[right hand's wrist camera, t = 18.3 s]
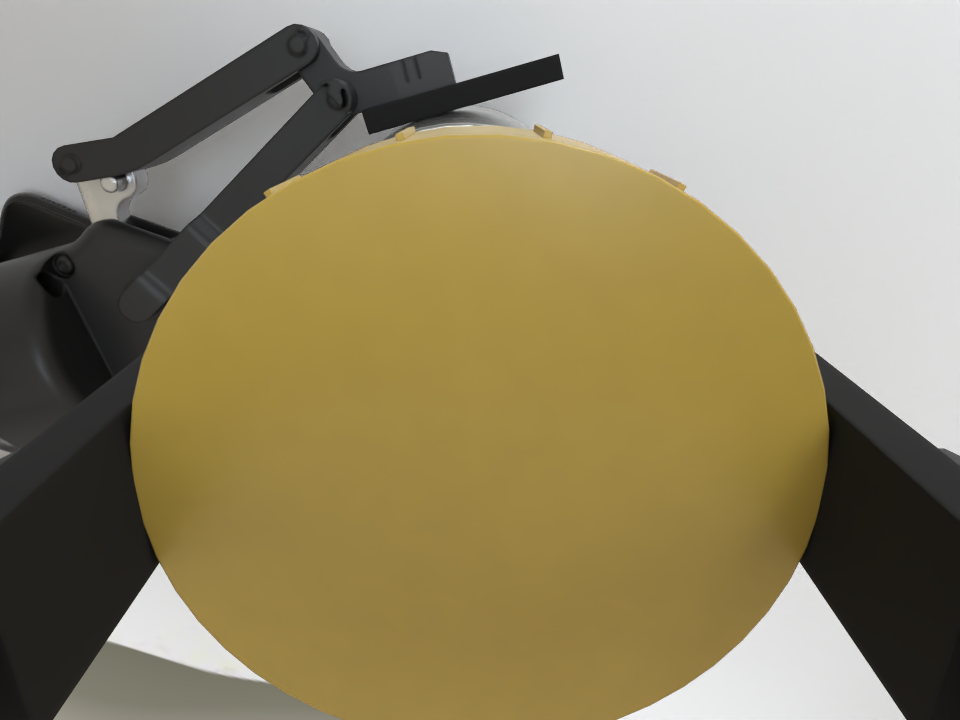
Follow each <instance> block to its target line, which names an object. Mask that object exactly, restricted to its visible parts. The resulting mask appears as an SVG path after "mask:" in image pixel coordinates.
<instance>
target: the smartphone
mask: <svg viewBox="0 0 960 720" xmlns="http://www.w3.org/2000/svg"><path fill="white" fill-rule="evenodd" d="M91 224H92V223H91V220H90V217H89V216H86V215H84V214H81V213H79V212H77V211H74V210H72V209H70V208H67V207H65V206H62V205H60V204H58V203H55V202H53V201H50V200H48V199H45V198H43V197H41V196H38V195H35V194H31V193H18V194H15V195H13V196H11V197H10V198H9V199H8V200H7V201H6V202H5V204H4V206H3V209H2V213H1V217H0V263H2V262H6V261H9V260H13V259H16V258H20V257H23V256H27V255H30V254H34V253H37V252H41V251H44V250H48V249H51V248H55V247H58V246H62V245H65V244H69V243H72V242H74V241H76V240H77V239H78V238H79V237H80V236H81V235H82V233H83V232H84V231H85V230H86V228H88V227H89V226H90V225H91Z"/></svg>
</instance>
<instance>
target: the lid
mask: <svg viewBox="0 0 960 720" xmlns="http://www.w3.org/2000/svg"><path fill="white" fill-rule="evenodd" d="M552 133H553V132H552V131H550V130H548V129H546V128H545V127H543V126H541V125H535V126H534V130H529V129H520V128H512V127H504V126H450V127H444V128H438V129H432V130H425V131H419V132H415V128H414V126H413V127H408V128H406V129H404V130H402V131H400V132H399V133H397V134H395V137H394V138H391V139H387V140H384V141H381V142H378V143H374V144H371V145H368V146H365V147H363V148H361V149H359V150H356V151H354V152H352V153H350V154H348V155H346V156H344V157H342V158H339V159H337V160H335V161H333V162H331V163H329V164H327V165H325V166H323V167H320V168H318V169H316V170H314V171H312V172H310V173H308V174H306V175H304V176H302V177H301V176H300V175H298V176H295V177H293V178H291V179H289V180H287V181H285V182H283V183H281V184H278V185H276V186H274V187H272V188H270V189H268V190H267V191H265V192H264V195H265V196H266V197H267V198H266V199H264V200H263V201H261V202H260V203H258V204H257V205H255V206H254V207H252V208H251V209H249V210H248V211H246V212H245V213H244V214H243V215H242V216H241V217H240V218H239V219H238V220H236V221H235V222H234V223H233V224H232V225H231V226H230V227H229V228H228V229H226V230H225V231H224V232H223V233H222V234H221V235H220V236H219V237H217V238H216V239H215V240H214V241H213V242H212V243H211V244H210V245H209V246H208V248H207V249H206V250H205V251H204V252H203V254H202V255H201V256H200V257H199V259H198V260H197V261H196V262H195V263H194V265H193V266H192V267H191V268H190V269H189V271H188V272H187V273H186V274H185V276H184V277H183V278H182V279H181V281H180V282H179V284H178V286H177V287H176V289H175V291H174V293H173V294H172V296H171V298H170V299H169V301H168V303H167V304H166V306H165V308H164V309H163V311H162V313H161V314H160V316H159V318H158V320H157V322H156V325H155V327H154V330H153V333H152V335H151V338H150V340H149V343H148V345H147V348H146V350H145V353H144V355H143V358H142V361H141V365H140V370H139V374H138V378H137V383H136V387H135V392H134V396H133V401H132V415H131V430H130V452H131V464H132V472H133V477H134V483H135V487H136V492H137V496H138V501H139V505H140V510H141V514H142V519H143V523H144V527H145V529H146V532H147V534H148V537H149V539H150V542H151V544H152V547H153V549H154V552H155V554H156V557H157V559H158V560H159V562H160V564H161V566H162V567H163V569H164V571H165V573H166V575H167V576H168V578H169V580H170V582H171V583H172V585H173V587H174V589H175V591H176V592H177V593H178V595H179V596H180V597H181V599H182V600H183V601H184V603H185V604H186V605H187V607H188V608H189V609H190V611H191V612H192V613H193V615H194V616H195V617H196V619H197V620H198V621H199V622H200V623H201V624H202V625H203V626H204V627H205V628H206V630H207V631H208V632H209V633H210V634H211V635H212V636H213V637H214V638H215V639H216V640H217V641H218V642H219V643H220V644H221V645H222V646H223V647H224V648H225V649H226V650H227V651H228V652H230V653H231V654H232V655H233V656H234V657H236V658H237V659H238V660H239V661H241V662H242V663H243V664H244V665H245V666H247V667H248V668H249V669H250V670H251V671H253V672H254V673H255V674H257V675H258V676H260V677H261V678H263V679H265V680H266V681H268V682H269V683H271V684H272V685H274V686H275V687H277V688H278V689H280V690H281V691H283V692H285V693H286V694H288V695H290V696H292V697H294V698H296V699H298V700H300V701H302V702H304V703H306V704H308V705H310V706H312V707H313V708H315V709H317V710H319V711H322V712H324V713H327V714H330V715H332V716H335V717H337V718H340V719H342V720H617V719H619V718H622V717H624V716H626V715H629V714H631V713H633V712H636V711H638V710H641V709H643V708H645V707H648V706H650V705H652V704H654V703H655V702H657V701H659V700H661V699H663V698H664V697H666V696H668V695H670V694H672V693H673V692H675V691H677V690H679V689H681V688H683V687H684V686H685V685H687V684H688V683H690V682H691V681H693V680H694V679H695V678H697V677H698V676H700V675H701V674H703V673H704V672H705V671H707V670H708V669H710V668H711V667H713V666H714V665H715V664H716V663H717V662H719V661H720V660H721V659H722V658H723V657H724V656H725V655H726V654H728V653H729V652H730V651H731V650H732V649H733V648H734V647H735V646H737V645H738V644H739V643H740V642H741V641H742V640H743V639H744V638H745V637H746V636H747V635H748V634H749V632H750V631H751V630H752V629H753V628H754V627H755V626H756V625H757V624H758V622H759V621H760V620H761V619H762V618H763V617H764V616H765V615H766V613H767V612H768V611H769V610H770V608H771V607H772V605H773V604H774V602H775V601H776V599H777V598H778V597H779V595H780V594H781V592H782V591H783V589H784V588H785V586H786V585H787V583H788V582H789V581H790V579H791V577H792V575H793V573H794V571H795V569H796V567H797V565H798V563H799V561H800V559H801V557H802V555H803V553H804V551H805V549H806V547H807V545H808V542H809V539H810V537H811V534H812V531H813V528H814V525H815V522H816V518H817V514H818V510H819V505H820V501H821V496H822V491H823V486H824V482H825V477H826V472H827V467H828V448H829V424H828V415H827V406H826V397H825V388H824V385H823V381H822V377H821V374H820V370H819V366H818V363H817V359H816V355H815V352H814V348H813V345H812V343H811V341H810V339H809V337H808V334H807V332H806V330H805V328H804V325H803V323H802V321H801V319H800V317H799V314H798V312H797V310H796V308H795V306H794V304H793V303H792V301H791V300H790V298H789V297H788V295H787V294H786V292H785V291H784V289H783V288H782V286H781V285H780V283H779V281H778V279H777V278H776V276H775V275H774V274H773V272H772V271H771V269H770V268H769V267H768V266H767V265H766V264H765V262H764V261H763V260H762V259H761V258H760V257H759V256H758V255H757V254H756V252H755V251H754V250H753V249H752V248H751V247H750V246H749V245H748V244H747V242H746V241H745V240H744V239H743V238H742V237H741V236H740V235H739V233H737V232H736V231H735V230H734V229H733V228H731V227H730V226H729V225H728V224H726V223H725V222H724V221H723V220H722V219H720V218H719V217H718V216H717V215H716V214H714V213H713V212H712V211H711V210H709V209H708V208H707V207H706V206H705V205H703V204H702V203H701V202H700V201H698V200H696V199H695V198H693V197H691V196H690V195H688V194H686V193H685V192H683V191H684V190H685V188H686V186H685V185H684V184H682V183H680V182H678V181H676V180H674V179H672V178H670V177H667V176H665V175H663V174H661V173H659V172H656V171H654V170H652V169H651V170H650V172H648V171H646V170H644V169H642V168H640V167H638V166H636V165H634V164H632V163H630V162H627V161H625V160H623V159H621V158H619V157H616V156H614V155H612V154H609V153H607V152H604V151H602V150H600V149H597V148H595V147H593V146H590V145H588V144H585V143H583V142H580V141H576V140H573V139H569V138H565V137H561V136H557V135H554V134H552Z"/></svg>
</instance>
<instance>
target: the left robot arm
mask: <svg viewBox="0 0 960 720" xmlns="http://www.w3.org/2000/svg"><path fill="white" fill-rule="evenodd" d="M301 79H303V80H304V81H305V82H306V84H307V85H308V86H309V88H310V89H311V90H312V92H313V93H314V94H313V95H312V96H311V97H310V98H309V99H308V100H307V101H306V102H305V103H304V104H303V106H302V107H301V108H300V109H299V110H298V111H297V112H296V113H295V114H294V115H293V116H292V117H291V118H290V119H289V120H288V121H287V123H286V124H285V125H284V126H283V127H282V128H281V129H280V130H279V131H278V132H277V133H276V134H275V135H274V136H273V137H272V139H271V140H270V141H269V142H268V143H267V144H266V145H265V146H264V147H263V148H262V149H261V150H260V151H259V152H258V153H257V154H256V156H255V157H254V158H253V159H252V160H251V161H250V162H249V163H248V164H247V165H246V166H245V167H244V168H243V169H242V170H241V171H240V173H239V174H238V175H237V176H236V177H235V178H234V179H233V180H232V181H231V182H230V183H229V184H228V185H227V186H226V187H225V188H224V190H223V191H222V192H221V193H220V194H219V195H218V196H217V197H216V198H215V199H214V200H213V201H212V202H211V203H210V204H209V206H208V207H207V208H206V209H205V210H204V211H203V212H202V213H201V214H200V215H199V216H198V217H196V218H195V219H194V220H193V221H191V222H190V223H189V224H188V225H187V226H186V227H185V228H184V229H183V230H182V231H181V232H178V231H175V230H172V229H169V228H166V227H164V226H161V225H158V224H155V223H152V222H150V221H147V220H144V219H141V218H138V217H135V216H132V215H130V212H129V204H130V201H131V199H132V198H133V197H134V196H136V195H138V194H140V193H142V192H143V191H144V190H145V189H146V187H147V185H148V174H147V172H146V170H145V169H146V168H150V167H153V166H157V165H159V164H162V163H165V162H167V161H169V160H171V159H173V158H175V157H177V156H178V155H180V154H182V153H183V152H185V151H186V150H188V149H190V148H191V147H193V146H194V145H196V144H198V143H199V142H201V141H203V140H204V139H206V138H207V137H209V136H211V135H212V134H214V133H215V132H217V131H219V130H220V129H222V128H224V127H225V126H227V125H228V124H230V123H232V122H233V121H235V120H236V119H238V118H240V117H241V116H243V115H244V114H246V113H248V112H249V111H251V110H253V109H254V108H256V107H257V106H259V105H261V104H262V103H264V102H265V101H267V100H269V99H270V98H272V97H274V96H275V95H277V94H278V93H280V92H282V91H283V90H285V89H286V88H288V87H290V86H291V85H293V84H294V83H296V82H298V81H299V80H301ZM562 79H564V77H563V72H562V67H561V63H560V58H559V54H557V55H553V56H550V57H546V58H543V59H539V60H536V61H532V62H529V63H525V64H522V65H518V66H515V67H512V68H508V69H505V70H501V71H498V72H494V73H491V74H487V75H484V76H480V77H477V78H474V79H470V80H467V81H463V82H460V83H456V81H455V77H454V73H453V69H452V65H451V61H450V58H449V54H448V53H446V52H438V51H428V52H424V53H421V54H417V55H414V56H411V57H407V58H404V59H401V60H397V61H394V62H390V63H387V64H383V65H380V66H377V67H373V68H370V69H366V70H363V71H357V72H356V71H354V70H351V69H350V68H348V67H347V66H346V65H345V64H344V63H343V62H342V60H341V59H340V58H339V56H338V55H337V53H336V52H335V51H334V49H333V48H332V46H331V45H330V42H329V39H328V38H327V37H326V36H325V35H324V34H323V33H322V32H320V31H318V30H315V29H312V28H310V27H307V26H304V25H299V24H292V25H290V26H287V27H285V28H284V29H282V30H281V31H279V32H277V33H276V34H274V35H273V36H271V37H270V38H268V39H267V40H265V41H263V42H262V43H260V44H259V45H257V46H256V47H254V48H252V49H251V50H249V51H248V52H246V53H245V54H243V55H241V56H240V57H238V58H237V59H235V60H234V61H232V62H231V63H229V64H227V65H226V66H224V67H223V68H221V69H220V70H218V71H216V72H215V73H213V74H212V75H210V76H209V77H207V78H205V79H204V80H202V81H201V82H199V83H198V84H196V85H194V86H193V87H191V88H190V89H188V90H187V91H185V92H184V93H182V94H180V95H179V96H177V97H176V98H174V99H173V100H171V101H169V102H168V103H166V104H165V105H163V106H162V107H160V108H158V109H157V110H155V111H154V112H152V113H151V114H149V115H147V116H146V117H144V118H143V119H141V120H140V121H138V122H137V123H135V124H133V125H132V126H130V127H129V128H127V129H126V130H124V131H122V132H121V133H119V134H118V135H116V136H115V137H113V138H107V139H101V140H95V141H89V142H83V143H77V144H70V145H64V146H62V147H59V148H57V149H56V151H55V152H54V153H53V157H52V163H53V168H54V169H55V171H56V173H57V174H58V175H59V176H60V177H61V178H62V179H64V180H66V181H68V182H74V183H77V185H78V187H79V190H80V193H81V196H82V198H83V201H84V204H85V207H86V209H87V212H88V215H89V217H90V220H91V223H92V224H91V225H90V226H89V227H88V228H86V230H85V231H84V232H83V233H82V235H81V236H80V237H79V238H78V239H77V240H76V241H74V242H72V243H69V244H65V245H62V246H58V247H55V248H51V249H48V250H44V251H41V252H37V253H34V254H30V255H27V256H23V257H20V258H16V259H13V260H9V261H6V262H2V263H0V458H2V457H4V456H7V455H9V454H11V453H13V452H15V451H19V450H20V449H22V448H23V447H24V446H25V445H27V444H28V443H29V442H31V441H32V440H33V439H34V438H36V437H37V436H38V435H39V434H41V433H42V432H43V431H45V430H46V429H47V428H48V427H50V426H51V425H52V424H54V423H55V422H56V421H57V420H59V419H60V418H61V417H62V416H64V415H65V414H66V413H68V412H69V411H70V410H71V409H73V408H74V407H75V406H77V405H78V404H79V403H80V402H82V401H83V400H84V399H85V398H87V397H88V396H89V395H91V394H92V393H93V392H94V391H96V390H97V389H98V388H100V387H101V386H102V385H103V384H105V383H106V382H107V381H108V380H110V379H111V378H112V377H114V376H115V375H116V374H117V373H119V372H120V371H121V370H123V369H124V368H125V367H126V366H128V365H129V364H130V363H131V362H133V361H134V360H135V359H137V358H138V357H139V356H140V355H142V354H143V353H144V352H145V350H146V348H147V345H148V343H149V340H150V338H151V335H152V333H153V330H154V327H155V325H156V322H157V320H158V318H159V316H160V314H161V313H162V311H163V309H164V308H165V306H166V304H167V303H168V301H169V299H170V298H171V296H172V294H173V293H174V291H175V289H176V287H177V286H178V284H179V282H180V281H181V279H182V278H183V277H184V276H185V274H186V273H187V272H188V271H189V269H190V268H191V267H192V266H193V265H194V263H195V262H196V261H197V260H198V259H199V257H200V256H201V255H202V254H203V252H204V251H205V250H206V249H207V248H208V246H209V245H210V244H211V243H212V242H213V241H214V240H215V239H216V238H217V237H219V236H220V235H221V234H222V233H223V232H224V231H225V230H226V229H228V228H229V227H230V226H231V225H232V224H233V223H234V222H235V221H236V220H238V219H239V218H240V217H241V216H242V215H243V214H244V213H245V212H246V211H248V210H249V209H251V208H252V207H254V206H255V205H257V204H258V203H260V202H261V201H263V200H264V199H266V198H267V197H266V196H265V195H264V192H265V191H267V190H268V189H270V188H272V187H274V186H276V185H278V184H281V183H283V182H285V181H287V180H289V179H291V178H293V177H295V176H298V175H299V174H300V173H301V172H302V171H303V170H304V169H305V168H306V167H307V166H308V165H309V164H310V163H311V162H312V161H313V160H314V159H315V158H316V157H317V155H318V154H319V153H320V152H321V151H322V150H323V149H324V148H325V147H326V146H327V145H328V144H329V143H330V142H331V141H332V140H333V139H334V138H335V137H336V136H337V135H338V134H339V133H340V132H341V131H342V130H343V129H344V128H345V127H346V126H347V125H348V124H349V123H350V122H351V120H352V119H353V118H354V117H355V116H356V115H357V114H358V113H361V112H362V114H363V117H364V120H365V123H366V126H367V130H368V133H369V134H373V133H376V132H380V131H383V130H387V129H390V128H394V127H397V126H401V125H404V124H408V123H411V122H415V121H418V120H422V119H425V118H429V117H432V116H436V115H439V114H443V113H446V112H450V111H453V110H457V109H460V108H464V107H467V106H471V105H474V104H478V103H481V102H485V101H488V100H492V99H495V98H499V97H502V96H506V95H509V94H513V93H516V92H520V91H523V90H527V89H530V88H534V87H537V86H541V85H544V84H548V83H551V82H555V81H558V80H562Z"/></svg>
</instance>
